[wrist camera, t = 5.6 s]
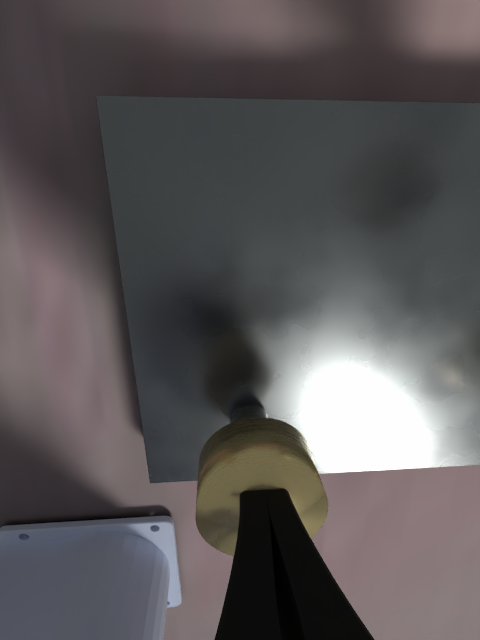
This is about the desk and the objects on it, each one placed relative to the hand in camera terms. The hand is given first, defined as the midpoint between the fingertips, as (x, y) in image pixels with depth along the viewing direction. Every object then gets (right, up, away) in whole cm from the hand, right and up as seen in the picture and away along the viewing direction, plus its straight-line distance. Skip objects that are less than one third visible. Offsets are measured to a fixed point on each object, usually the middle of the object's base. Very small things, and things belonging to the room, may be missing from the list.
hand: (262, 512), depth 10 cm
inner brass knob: (0, +2, +4) cm, 4 cm away
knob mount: (+7, +6, +5) cm, 10 cm away
